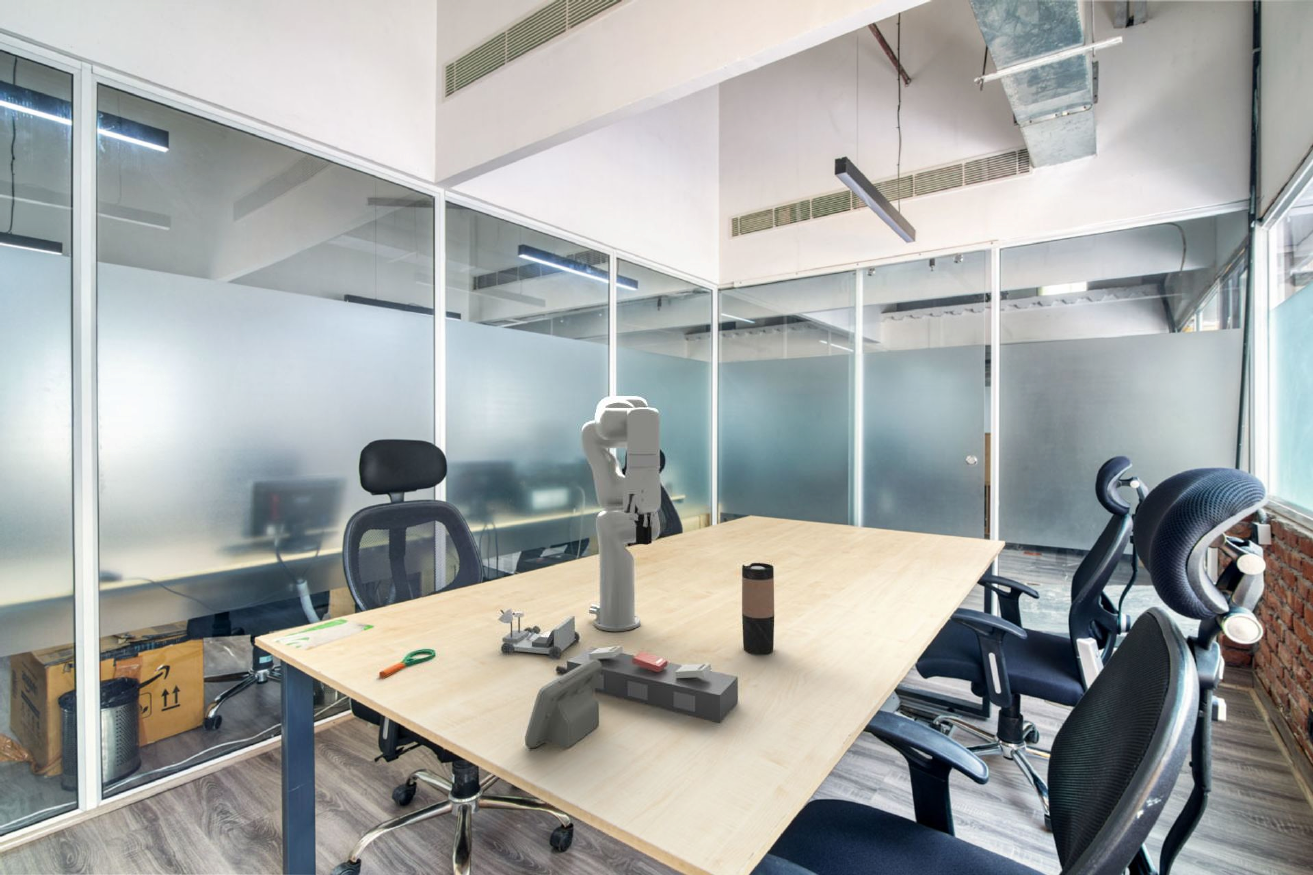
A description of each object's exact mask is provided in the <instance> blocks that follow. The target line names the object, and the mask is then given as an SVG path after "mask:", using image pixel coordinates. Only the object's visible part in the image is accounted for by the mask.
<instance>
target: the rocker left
mask: <svg viewBox="0 0 1313 875" xmlns="http://www.w3.org/2000/svg"><path fill="white" fill-rule="evenodd" d="M597 648H598V649H596V650H595V651H593V652H591V653H589V657H590V660H592V659H603V658H614V657H615V656H617V655H619V654H620V653H623V652H624V651H623V646H622V645H616V646H609V647H608V646H607V647H597Z"/></svg>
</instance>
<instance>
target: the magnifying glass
mask: <svg viewBox="0 0 1313 875" xmlns="http://www.w3.org/2000/svg"><path fill="white" fill-rule="evenodd" d="M423 654H424V655H427V656H424V657H419V658H414V656H417V655H423ZM435 657H436V650H435V649H433V648H432V649H431V648H423V649H417V650H413V651H411V652H409V653H408V654H406V656H405V657H404V658H403V659H402V660H401V661H400V662H398V663H396V664H393V665H392V666H390V667H387V668H385V669H382V670H381V671H380V672H379V673H378V675H379V677H380V678H382V679H386V678H388V677H390V676H392V675H394V674H396V673H398V672H400V671H402V670H404V669H406V668H408V667H411V666H414V665H418V664H421V663H425V662H428V661H431V660H432V659H434V658H435Z"/></svg>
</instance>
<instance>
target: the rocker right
mask: <svg viewBox="0 0 1313 875" xmlns="http://www.w3.org/2000/svg"><path fill="white" fill-rule="evenodd" d="M710 671H712V665H711V663H696V664H683V666H681V667H680V668H679V669H678V670H677V671H675V675H676V678H689V677H704V676H705V675H706V674H707V673H709V672H710Z"/></svg>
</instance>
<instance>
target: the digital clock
mask: <svg viewBox="0 0 1313 875" xmlns="http://www.w3.org/2000/svg"><path fill="white" fill-rule="evenodd" d="M601 668H602V667H601V662H600V661H599V660H598V659H595V660H589V661H588V662H586V663H584V664H582V665H580V666H579V667H577V668H575V669H573V670H571V671H570V672H568V673H566V674H565V673H563V675H560V676H559V677H557V678H556V679H554V680H552V681H551V682H549V683H547V684H545V685H543V686H541V688H540V689H539V690H538V693H537V695H536V699H535V702H534V704H533V709H532V711H531V715H530V718H529V722H528V725H527V728H526V733H525V736H524V743H525V746H526V747H527V748H530V749H531V748H532V749H533V748H538V747H539V746H540V745H542V744H544V743H547V744H550V745H554V746H556V747H559V748H563V749H566V750H568V749H570V748H572V746H574V745H575V744H576V743H578V742H579V741H581V740H582V739H583V738H584V737H586V736H587V735H588V734H590V733H591V732H592V731H593V730H595V729H597V728H598V727H599V726H600V702H599V700H598V699H597V698H596V697H595V695H594V694H595V692H594V691H595V688H596V685H597V682H598V678H599V675H600V672H601Z"/></svg>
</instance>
